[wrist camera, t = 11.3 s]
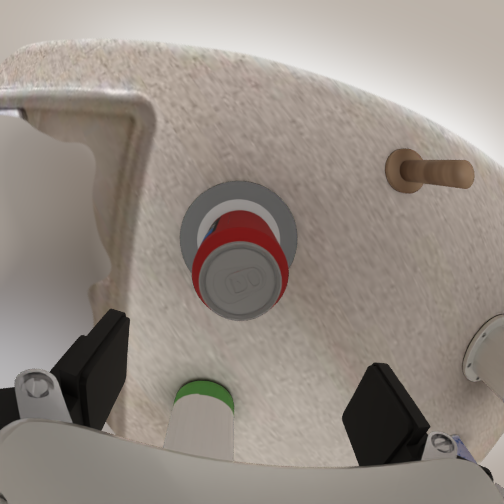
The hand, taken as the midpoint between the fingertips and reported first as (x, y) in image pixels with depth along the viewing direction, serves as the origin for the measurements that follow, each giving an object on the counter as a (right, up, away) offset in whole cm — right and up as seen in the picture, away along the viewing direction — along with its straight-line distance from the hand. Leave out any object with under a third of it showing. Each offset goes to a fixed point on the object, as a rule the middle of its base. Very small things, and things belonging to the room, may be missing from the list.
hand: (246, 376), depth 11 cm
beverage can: (-1, +6, +21) cm, 22 cm away
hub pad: (-1, +6, +21) cm, 22 cm away
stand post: (+17, +14, +20) cm, 30 cm away
